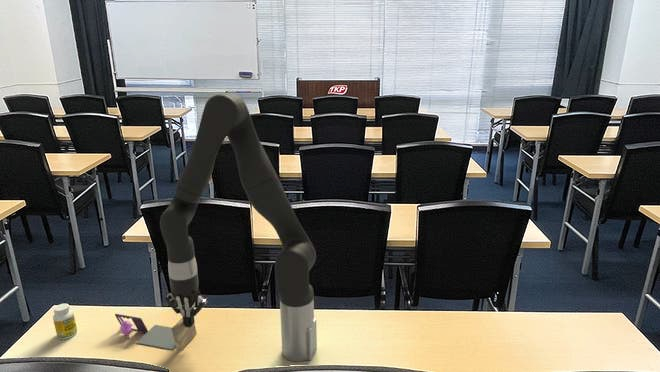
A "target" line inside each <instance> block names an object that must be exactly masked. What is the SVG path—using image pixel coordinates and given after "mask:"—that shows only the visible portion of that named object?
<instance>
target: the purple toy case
mask: <svg viewBox="0 0 660 372" xmlns="http://www.w3.org/2000/svg"><path fill="white" fill-rule="evenodd" d="M114 316H115V318H116V320H117V321H118V324H120V327H119V329H120V333H122V335H124V336H126V340H129V339H130V334H131V333H133V331H138V332H142V333H145V334H146V333H147V332H148V331H149V330H148V328H147V326H146V324H145V323H144V321H143V319H142V318H141V317H137V316H132V315H126V314H121V313H115V314H114ZM124 319H127V320H125V321H124ZM130 319H131V320H132V322H133V324H134V325H132V323H131V322H130V321H129V320H130ZM133 326H135V327H136V328H132V327H133Z"/></svg>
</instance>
